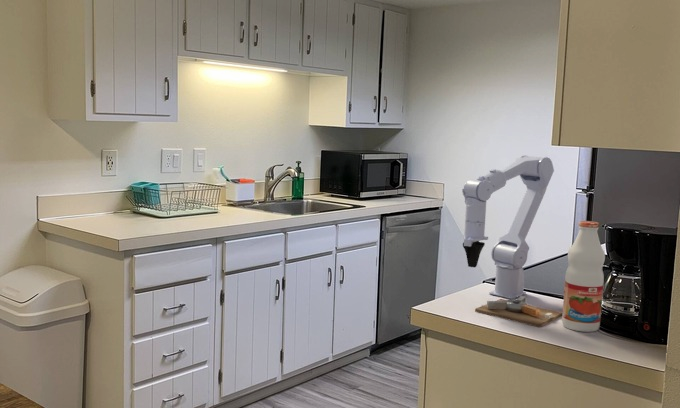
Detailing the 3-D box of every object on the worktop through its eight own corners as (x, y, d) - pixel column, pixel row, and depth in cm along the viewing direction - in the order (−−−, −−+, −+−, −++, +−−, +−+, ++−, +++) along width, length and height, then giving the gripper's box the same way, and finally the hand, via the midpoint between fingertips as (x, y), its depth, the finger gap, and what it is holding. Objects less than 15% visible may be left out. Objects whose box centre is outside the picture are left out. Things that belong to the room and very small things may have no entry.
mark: (548, 316, 179) (548, 312, 178) (552, 317, 178) (552, 313, 178) (544, 318, 177) (544, 314, 177) (548, 319, 176) (548, 315, 176)
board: (500, 301, 195) (500, 298, 195) (562, 315, 182) (562, 312, 182) (475, 311, 184) (475, 308, 184) (539, 327, 171) (539, 324, 171)
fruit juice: (590, 321, 178) (599, 219, 174) (605, 333, 168) (615, 225, 165) (556, 321, 177) (564, 218, 174) (569, 332, 168) (578, 224, 164)
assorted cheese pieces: (484, 308, 184) (485, 299, 184) (522, 302, 191) (523, 293, 191) (517, 320, 173) (518, 311, 173) (556, 314, 180) (556, 305, 180)
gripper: (482, 225, 183) (479, 273, 185) (494, 219, 196) (491, 263, 198) (457, 223, 186) (455, 269, 188) (471, 217, 199) (468, 260, 201)
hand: (472, 266), depth 193 cm, fingers closed
